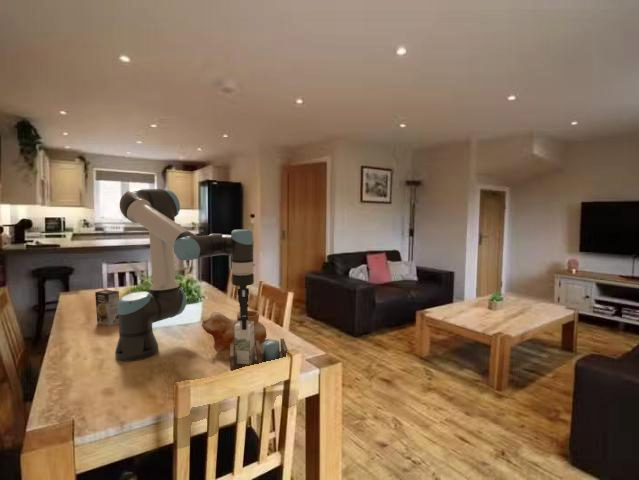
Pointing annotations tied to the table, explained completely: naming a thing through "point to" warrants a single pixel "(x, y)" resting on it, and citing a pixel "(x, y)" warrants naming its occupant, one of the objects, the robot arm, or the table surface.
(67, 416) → the table surface
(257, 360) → the slot rack
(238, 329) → the syrup box
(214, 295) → the table surface
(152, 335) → the robot arm
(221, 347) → the ceramic vessel
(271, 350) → the grey-blue rounded cube
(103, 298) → the coffee box
